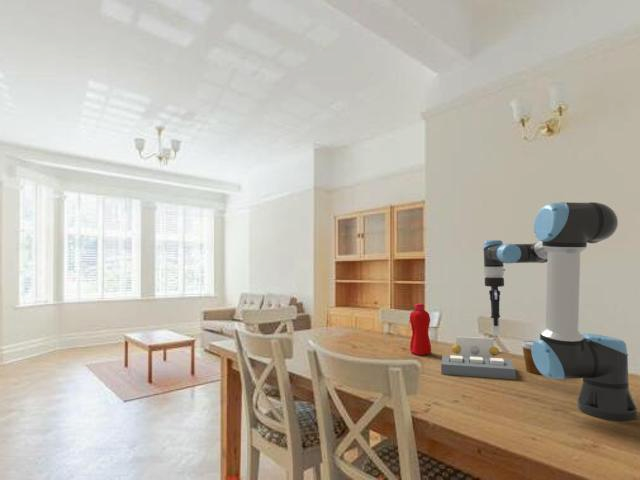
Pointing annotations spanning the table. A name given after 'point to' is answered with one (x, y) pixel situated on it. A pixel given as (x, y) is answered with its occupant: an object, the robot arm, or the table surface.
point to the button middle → (476, 360)
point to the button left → (456, 358)
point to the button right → (496, 361)
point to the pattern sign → (475, 347)
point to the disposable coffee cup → (529, 357)
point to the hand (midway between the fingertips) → (495, 333)
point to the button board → (478, 368)
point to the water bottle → (420, 331)
